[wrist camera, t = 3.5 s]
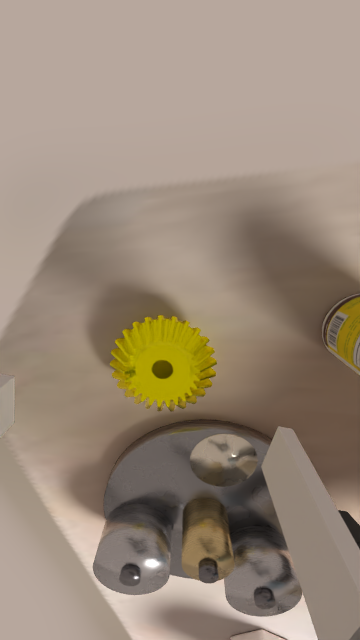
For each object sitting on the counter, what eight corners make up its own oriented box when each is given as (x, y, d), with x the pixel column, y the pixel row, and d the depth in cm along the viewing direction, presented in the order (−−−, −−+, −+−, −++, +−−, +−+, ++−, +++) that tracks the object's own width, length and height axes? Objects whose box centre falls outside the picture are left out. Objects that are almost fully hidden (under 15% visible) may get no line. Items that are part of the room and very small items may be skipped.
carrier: (242, 383, 22) (263, 438, 16) (334, 524, 27) (376, 607, 21) (67, 475, 26) (31, 546, 20) (175, 583, 31) (172, 667, 25)
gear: (225, 378, 22) (195, 292, 20) (232, 404, 18) (197, 304, 16) (140, 403, 23) (103, 324, 21) (132, 432, 19) (86, 342, 17)
